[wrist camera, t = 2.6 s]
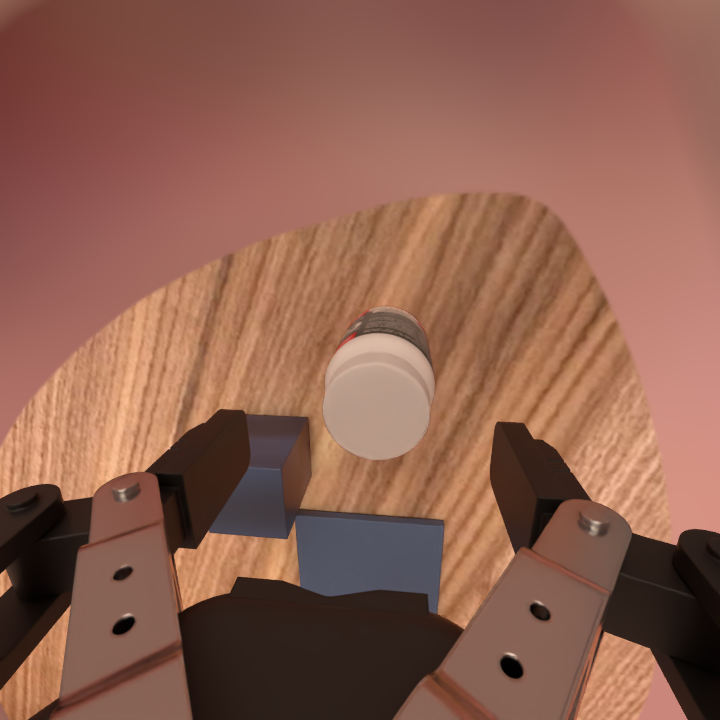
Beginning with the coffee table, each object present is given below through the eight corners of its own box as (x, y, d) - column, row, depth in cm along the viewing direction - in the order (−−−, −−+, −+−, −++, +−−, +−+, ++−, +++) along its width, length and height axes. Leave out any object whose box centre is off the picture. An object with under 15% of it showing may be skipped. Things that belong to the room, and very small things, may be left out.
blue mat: (296, 509, 26) (294, 515, 26) (443, 520, 25) (444, 526, 25) (305, 613, 30) (303, 620, 29) (435, 627, 29) (435, 635, 28)
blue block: (241, 413, 24) (196, 464, 19) (308, 417, 24) (281, 469, 19) (248, 472, 26) (208, 533, 21) (311, 476, 25) (287, 540, 20)
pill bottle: (352, 297, 21) (319, 339, 13) (436, 313, 21) (454, 367, 13) (339, 375, 23) (303, 453, 15) (417, 391, 22) (423, 480, 15)
